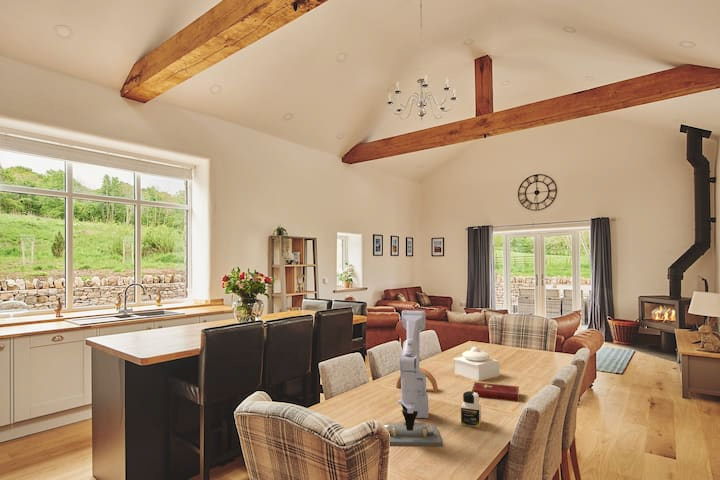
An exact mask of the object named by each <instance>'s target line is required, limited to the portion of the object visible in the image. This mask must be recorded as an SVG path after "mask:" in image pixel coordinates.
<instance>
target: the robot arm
mask: <svg viewBox="0 0 720 480" xmlns="http://www.w3.org/2000/svg"><path fill="white" fill-rule="evenodd" d="M426 317H427V316H426V311H425V310H410V309H409V310H407V309H404V310H403V309H402V311H401V325H402V327H403V329H404V330H406V340H404V341H403V343H402V351H401V352H402V353H401V357H399V364H398V365H399V367H398V368H399V374H400V375H399V378H400V377H401V386H400V389H401V390H400V394H401V395H400V399H398V400H397V403H398V404H400V405H401V407H402V410H401V413H402V415H403V418H404V420H405V421H404V422H406V428H407V431H413V427H414V423H416V422H415V421H416V419H425V418H426V419H429V411H430V410H429V395H428V393H426V392H427V377H426V375H425V373H423V372H422V371H421V370H420V369H419V368H420V345H421V343H420V335H421V332H422V331H425V329H426V320H427V319H426Z"/></svg>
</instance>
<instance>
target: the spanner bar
mask: <svg viewBox="0 0 720 480" xmlns="http://www.w3.org/2000/svg"><path fill="white" fill-rule="evenodd" d="M383 426H385V427H386V429H387V430H388V431H389V433H390V435H393V428H396V435H417V436H423V429H426V436H432V435H434V428H433V426H434V424H431V423H429V422H414V427H413V431H407V428H406V422H405V421H402V422H398V421H397V422H396V421H394V422H393V421H389V422H387V423H386V422H385V423H384V424H383Z"/></svg>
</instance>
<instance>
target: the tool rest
mask: <svg viewBox="0 0 720 480" xmlns="http://www.w3.org/2000/svg"><path fill="white" fill-rule="evenodd" d="M433 428H434V435H432V436H426V429H423V436H417V435H396V428H393V435H390V445H389V446H426V447H427V446H429V447H430V446H433V447H442V446H443V445H442V444H443V442H442V439H441V436H440V434H439V430H438V428H437V426H434V425H433Z"/></svg>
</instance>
